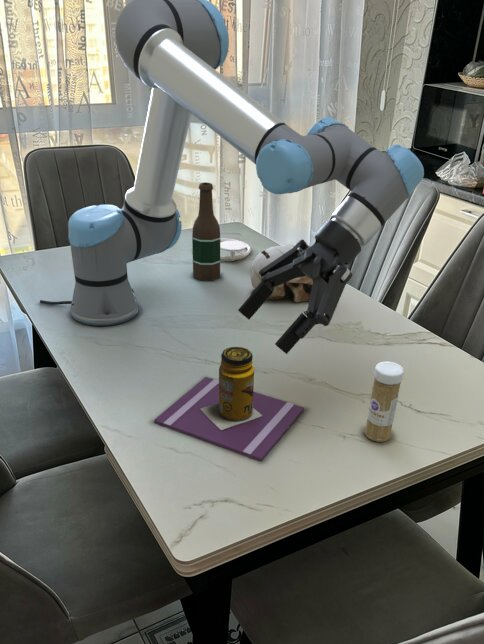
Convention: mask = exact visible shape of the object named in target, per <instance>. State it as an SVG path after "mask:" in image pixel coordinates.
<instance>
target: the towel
mask: <svg viewBox="0 0 484 644" xmlns="http://www.w3.org/2000/svg"><path fill="white" fill-rule="evenodd" d="M253 393H254V394H253V408H254V409H255V410H256V411H258V412H259V413H260V414H261V415H262V416H261V417H258V418H255V419H253V420H250V421H247V422H244V423H241V424H238V425H235V426H231V427H229V428H226V429H224V430H220V429H219V428H218V427H217V426H216V425H215V424H214V423H213V422H212V421H211V420H210V419H209V418H208V417H207V416H206V415H205V414H204V413H203V411H202V410H201V408H204V407H208V406H211V405H214V404H216V403H219V379H216V378H212V377H208V376H205V377H203V378H202V379H201V380H200V381H198V382H197V383H196V384H195V385H194V386H193V387H192V388H191V389H189V390H188V391H187V392H186V393H185V394H183V395H182V396H181V397H180V398H178V399H177V400H176V401H175V402H174V403H173V404H171V405H170V406H169V407H168V408H166V409H165V410H164V411H163V412H162V413H160V414H159V415H158V416H157V417H156V418H154V420H153V423H155V424H157V425H160V426H163V427H165V428H168V429H171V430H173V431H174V430H175V431H177V432H179V433H182V434H184V435H188V436H190V437H193V438H196V439H198V440H201V441H203V442H207V443H210V444H212V445H214V446H218V447H220V448H224V449H226V450H229V451H231V452H234V453H237V454H240V455H243V456H245V457H249V458H251V459H254V460H257V461H260V462H262V461H263V460H264V458H265V457H266V456H267V455H268V454H269V453H270V451H271V450H272V449H273V448H274V447H275V446H276V445H277V443H278V442H279V441H280V440H281V439H282V437H283V436H284V435H285V434H286V433H287V432H288V431H289V429H290V428H291V427H292V426H293V424H295V422H296V421H297V420H298V418H300V416H301V415H302V414H303V412H304V411H305V407H304V406H301V405H299V404H298V405H297V404H295V403H293V402H290V401H285V400H281V399H279V398H276V397H272V396H269V395H266V394H262V393H259V392H256V391H253Z"/></svg>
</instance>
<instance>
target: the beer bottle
mask: <svg viewBox="0 0 484 644" xmlns="http://www.w3.org/2000/svg"><path fill="white" fill-rule="evenodd" d="M198 190H199V201H198V202H199V203H198V204H199V205H198V215H197V217H196V218H195V220H194V222H193V225H192V235H191V240H192V241H191V242H192V244H191V245H192V275H193V278H194V279H196V280H199V281H203V282H204V281H209V282H213V281H215V280H217V279H220V277H221V260H220V256H221V248H220V238H221V228H220V223H219V221H218V219H217V218H216V216H215V212H214V204H213V202H214V201H213V190H214V186H213V183H211V182H200V183H199V185H198Z"/></svg>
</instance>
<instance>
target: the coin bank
mask: <svg viewBox="0 0 484 644" xmlns="http://www.w3.org/2000/svg"><path fill="white" fill-rule="evenodd" d="M295 245H296V244H295ZM295 245H294V244H291V243H290V244H281V245H274V246H271V247H268V248H265V249H264V250H262V251H260V252H259V253H257V256H255V258H254V259H253V262H252V263H251V267H250V282H251V286H252V287H253V289H255V288H256V287H257V286H258V285H259V283H260V282H261V275H260V274H259V271H260V270H261V269H262V268H264V267H265V266H267V265H268V264H270V263H271V262H273V261H274V260H276V259H277V258H279V257H280V256H282V255H283V254H285V253H286V252H288V251H289V250H290V249H292V248H293V247H294V246H295ZM301 265H302V264H301ZM268 273H269V272H268ZM312 285H313V280H312V279H310V278H308V277H307V276H304V277H303V276H299V277H297V278H295V279H292V280H290V281H288V282H285V283H283V284H281V285H278V286H276V287H274V291H273V293H272V294H271V295H270V296H269V297H268V299H270V300H280V299H287V298H292V301H293V302H294V303H300V302H309V299H310V295H311V290H312Z"/></svg>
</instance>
